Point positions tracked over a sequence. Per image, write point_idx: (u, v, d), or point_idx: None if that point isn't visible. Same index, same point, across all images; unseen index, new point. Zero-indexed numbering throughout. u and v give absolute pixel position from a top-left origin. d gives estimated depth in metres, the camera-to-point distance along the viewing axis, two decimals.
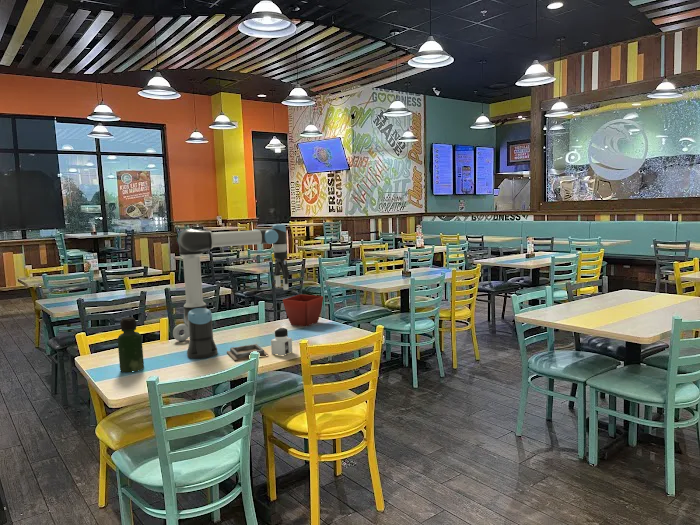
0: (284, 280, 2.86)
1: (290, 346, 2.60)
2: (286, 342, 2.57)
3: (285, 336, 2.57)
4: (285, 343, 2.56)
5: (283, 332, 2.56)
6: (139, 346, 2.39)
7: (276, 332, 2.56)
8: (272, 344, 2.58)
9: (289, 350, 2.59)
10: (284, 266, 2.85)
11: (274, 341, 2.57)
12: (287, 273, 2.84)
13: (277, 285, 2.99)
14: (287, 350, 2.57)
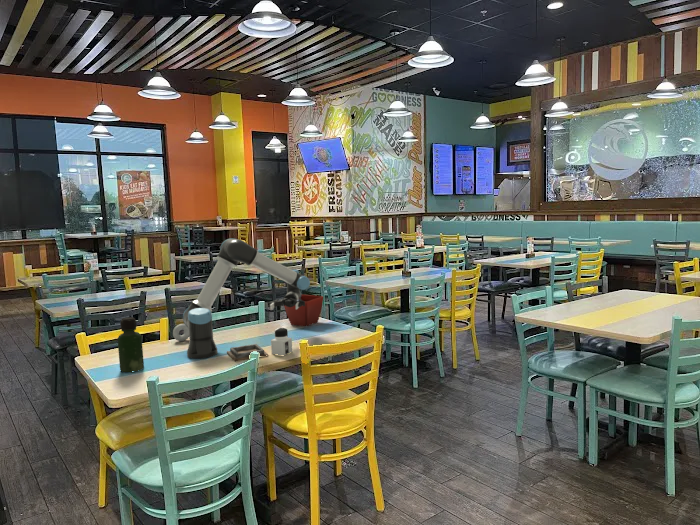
0: (298, 303, 2.72)
1: (290, 346, 2.60)
2: (286, 342, 2.57)
3: (285, 336, 2.57)
4: (285, 343, 2.56)
5: (283, 332, 2.56)
6: (139, 346, 2.39)
7: (276, 332, 2.56)
8: (272, 344, 2.58)
9: (289, 350, 2.59)
10: None
11: (274, 341, 2.57)
12: None
13: (271, 306, 2.69)
14: (287, 350, 2.57)
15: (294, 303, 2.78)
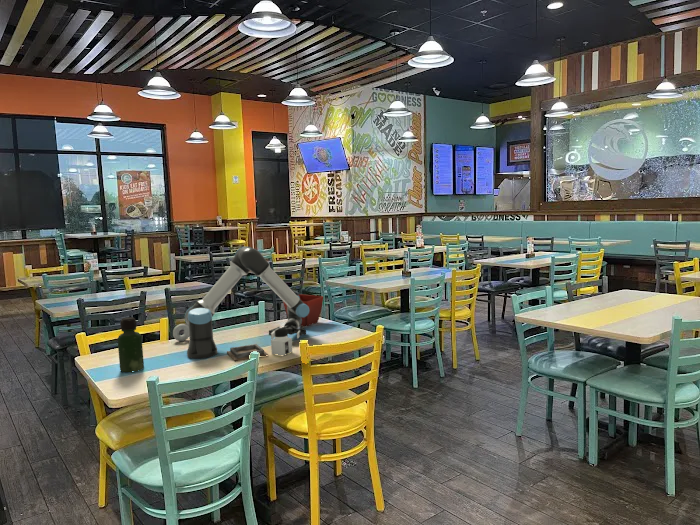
0: (299, 331, 2.71)
1: (290, 346, 2.60)
2: (286, 342, 2.57)
3: (285, 336, 2.57)
4: (285, 343, 2.56)
5: (283, 332, 2.56)
6: (139, 346, 2.39)
7: (276, 332, 2.56)
8: (272, 344, 2.58)
9: (289, 350, 2.59)
10: None
11: (274, 341, 2.57)
12: None
13: (272, 334, 2.67)
14: (287, 350, 2.57)
15: (295, 331, 2.76)
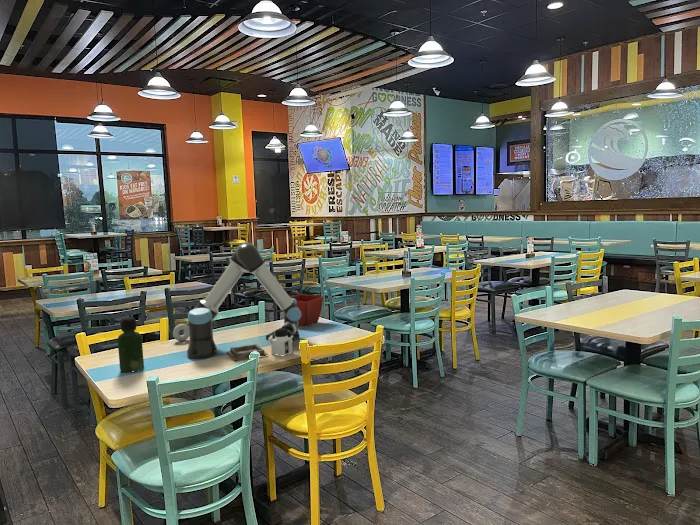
0: (292, 336, 2.60)
1: (290, 346, 2.60)
2: (286, 342, 2.57)
3: (285, 336, 2.57)
4: (285, 343, 2.56)
5: (283, 332, 2.56)
6: (139, 346, 2.39)
7: (276, 332, 2.56)
8: (272, 344, 2.58)
9: (289, 350, 2.59)
10: (297, 333, 2.68)
11: (274, 341, 2.57)
12: None
13: (270, 339, 2.56)
14: (287, 350, 2.58)
15: (290, 335, 2.66)
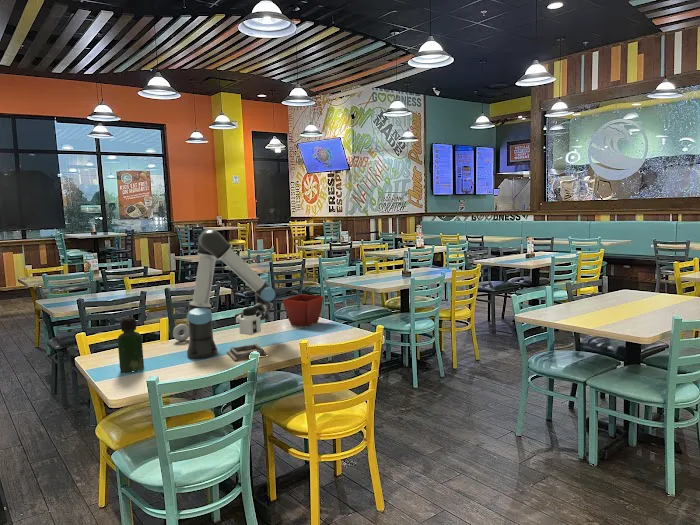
0: (261, 316, 2.59)
1: (258, 325, 2.59)
2: (254, 321, 2.56)
3: (253, 315, 2.56)
4: (253, 322, 2.55)
5: (251, 311, 2.55)
6: (139, 346, 2.39)
7: (244, 311, 2.56)
8: (240, 323, 2.57)
9: (257, 329, 2.58)
10: None
11: (242, 320, 2.56)
12: None
13: (237, 318, 2.55)
14: (255, 329, 2.56)
15: (259, 315, 2.65)
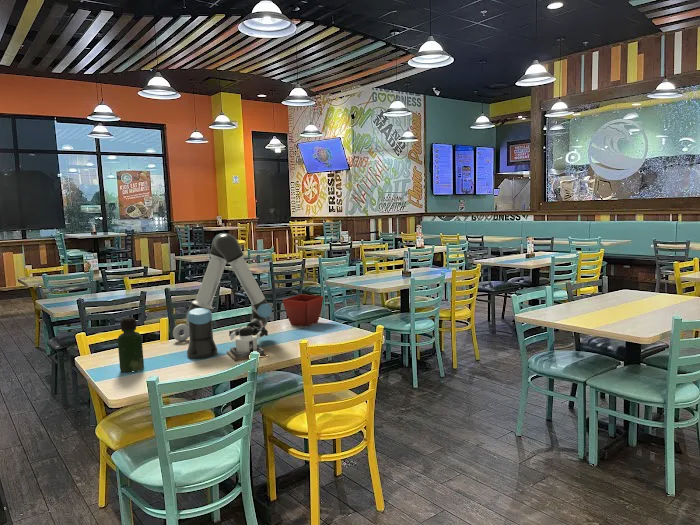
0: (260, 332, 2.61)
1: (255, 345, 2.60)
2: (250, 341, 2.57)
3: (249, 335, 2.57)
4: (249, 342, 2.56)
5: (247, 331, 2.56)
6: (139, 346, 2.39)
7: (240, 331, 2.57)
8: (237, 343, 2.58)
9: (254, 349, 2.59)
10: None
11: (238, 340, 2.57)
12: None
13: (232, 335, 2.57)
14: (251, 349, 2.58)
15: (257, 332, 2.66)
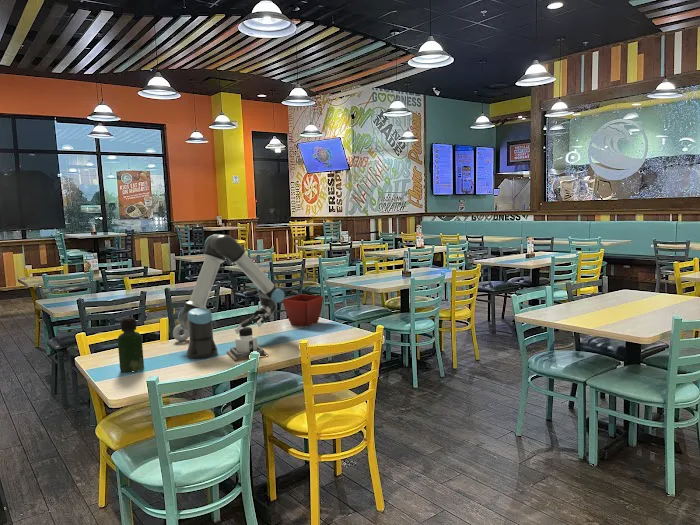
0: (261, 319, 2.72)
1: (255, 345, 2.60)
2: (250, 341, 2.57)
3: (249, 335, 2.57)
4: (249, 342, 2.56)
5: (247, 331, 2.56)
6: (139, 346, 2.39)
7: (240, 331, 2.57)
8: (237, 343, 2.58)
9: (254, 349, 2.59)
10: (268, 314, 2.80)
11: (238, 340, 2.57)
12: None
13: (237, 329, 2.72)
14: (251, 349, 2.58)
15: (261, 319, 2.78)
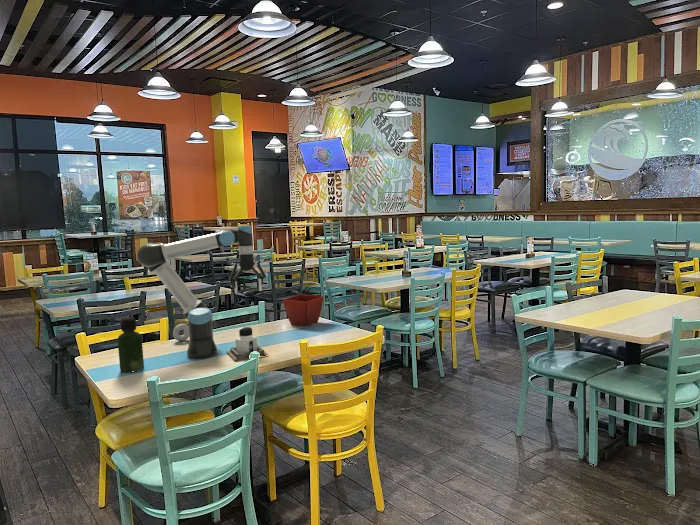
0: None
1: (255, 345, 2.60)
2: (250, 341, 2.57)
3: (249, 335, 2.57)
4: (249, 342, 2.56)
5: (247, 331, 2.56)
6: (139, 346, 2.39)
7: (240, 331, 2.57)
8: (237, 343, 2.58)
9: (254, 349, 2.59)
10: (233, 269, 2.75)
11: (238, 340, 2.57)
12: (230, 276, 2.74)
13: (259, 289, 2.83)
14: (251, 349, 2.58)
15: None
